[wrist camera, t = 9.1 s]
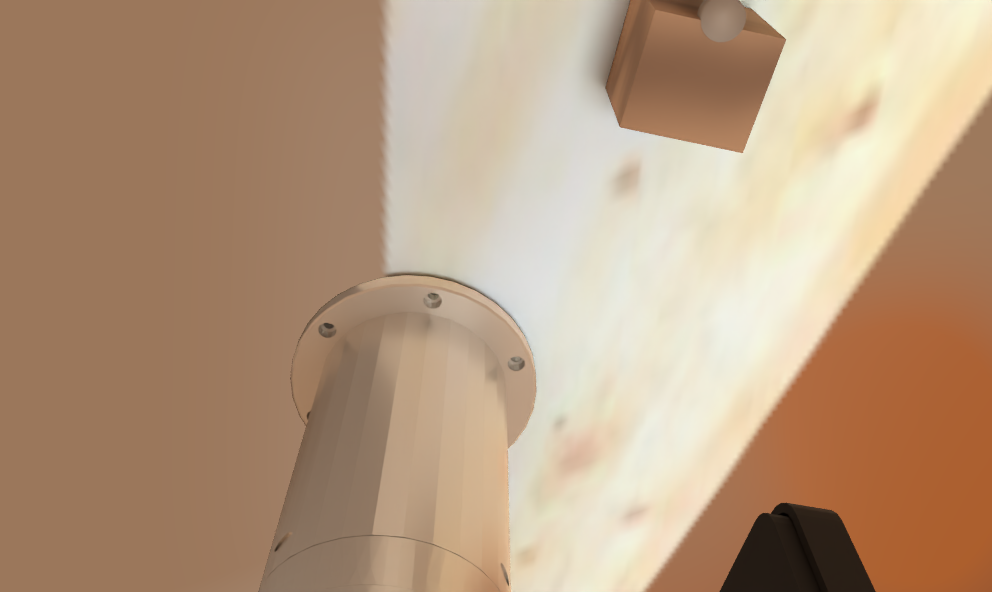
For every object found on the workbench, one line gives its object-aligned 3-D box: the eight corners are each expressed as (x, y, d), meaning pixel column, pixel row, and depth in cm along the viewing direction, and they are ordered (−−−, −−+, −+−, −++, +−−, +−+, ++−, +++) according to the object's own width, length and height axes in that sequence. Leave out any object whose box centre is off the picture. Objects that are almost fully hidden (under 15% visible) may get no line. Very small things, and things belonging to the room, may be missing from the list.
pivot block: (714, 111, 38) (743, 154, 34) (605, 87, 38) (620, 127, 33) (759, -16, 36) (797, 12, 31) (642, -44, 35) (664, -19, 31)
